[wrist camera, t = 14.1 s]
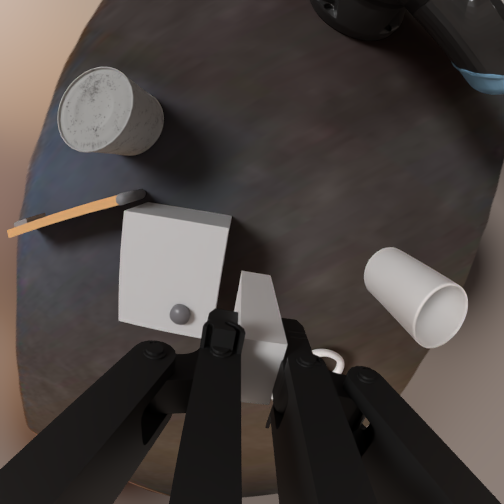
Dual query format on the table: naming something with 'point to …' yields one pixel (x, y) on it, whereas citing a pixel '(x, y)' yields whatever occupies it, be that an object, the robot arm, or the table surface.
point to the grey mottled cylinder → (109, 114)
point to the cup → (416, 296)
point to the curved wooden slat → (74, 212)
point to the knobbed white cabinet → (171, 267)
